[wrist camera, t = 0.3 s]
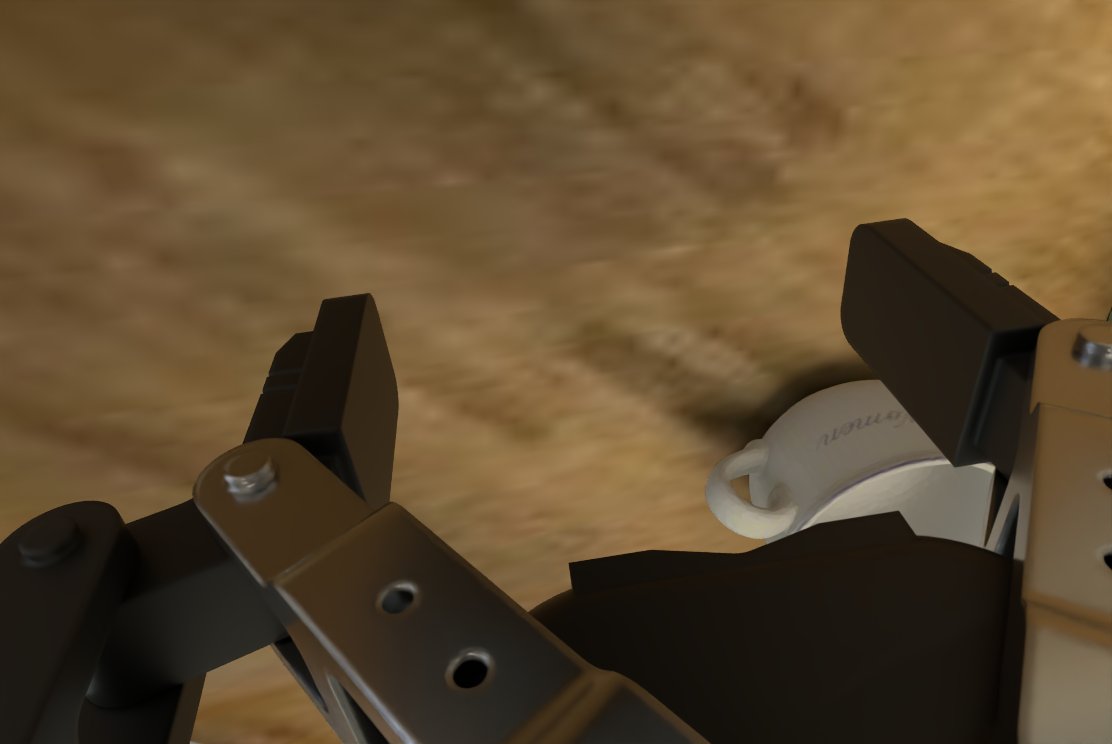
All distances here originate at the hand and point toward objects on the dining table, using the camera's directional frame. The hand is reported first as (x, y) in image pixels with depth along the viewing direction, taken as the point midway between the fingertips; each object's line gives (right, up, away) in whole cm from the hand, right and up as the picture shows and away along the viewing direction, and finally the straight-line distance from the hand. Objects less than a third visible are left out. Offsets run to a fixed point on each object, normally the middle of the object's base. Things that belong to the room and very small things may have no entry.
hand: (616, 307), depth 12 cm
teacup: (+12, -4, +26) cm, 29 cm away
